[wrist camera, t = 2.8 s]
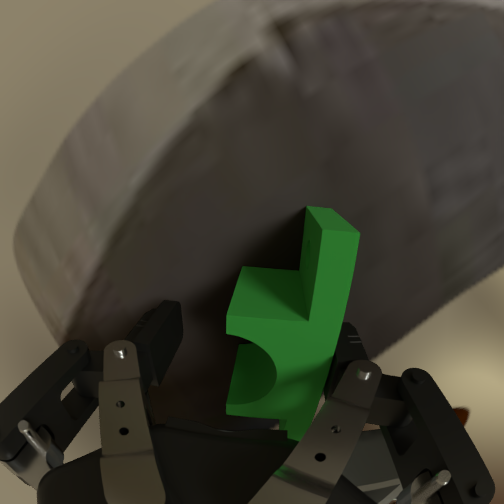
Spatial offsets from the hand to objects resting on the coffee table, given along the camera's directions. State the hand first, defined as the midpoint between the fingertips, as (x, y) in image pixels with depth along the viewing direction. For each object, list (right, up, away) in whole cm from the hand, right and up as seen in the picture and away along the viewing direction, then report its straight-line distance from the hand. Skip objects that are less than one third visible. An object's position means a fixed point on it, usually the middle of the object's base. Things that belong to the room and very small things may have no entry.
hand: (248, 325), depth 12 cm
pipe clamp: (+2, 0, +1) cm, 2 cm away
